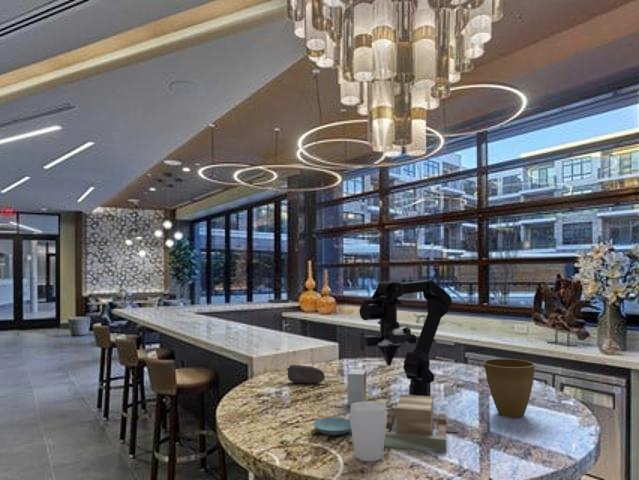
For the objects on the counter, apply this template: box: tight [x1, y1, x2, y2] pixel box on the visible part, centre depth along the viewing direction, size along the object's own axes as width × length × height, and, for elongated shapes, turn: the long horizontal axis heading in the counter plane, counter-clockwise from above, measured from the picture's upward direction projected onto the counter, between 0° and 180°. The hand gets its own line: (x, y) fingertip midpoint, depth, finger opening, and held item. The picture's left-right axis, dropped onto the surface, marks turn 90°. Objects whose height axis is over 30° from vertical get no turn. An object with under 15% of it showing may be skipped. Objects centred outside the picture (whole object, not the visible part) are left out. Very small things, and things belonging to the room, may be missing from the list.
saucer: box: [312, 417, 352, 436], centre depth 134 cm, size 12×12×2 cm
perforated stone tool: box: [287, 364, 326, 384], centre depth 191 cm, size 15×5×7 cm, turn 77°
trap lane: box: [384, 409, 458, 453], centre depth 133 cm, size 26×23×3 cm
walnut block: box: [395, 394, 434, 436], centre depth 131 cm, size 14×9×9 cm, turn 165°
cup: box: [349, 400, 387, 463], centre depth 116 cm, size 9×9×12 cm
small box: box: [347, 368, 367, 407], centre depth 163 cm, size 8×6×10 cm
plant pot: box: [483, 358, 536, 419], centre depth 149 cm, size 15×15×16 cm
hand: (388, 365), depth 160 cm, fingers closed
